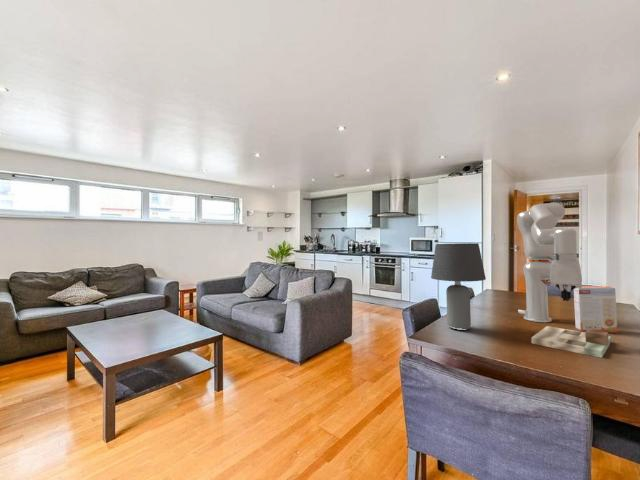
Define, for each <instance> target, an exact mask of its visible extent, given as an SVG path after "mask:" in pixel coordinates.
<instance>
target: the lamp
mask: <svg viewBox="0 0 640 480" xmlns="http://www.w3.org/2000/svg"><path fill="white" fill-rule="evenodd" d="M434 246H435V247H434V253H433V255H434V256H433V262H432V269H431V276H430V277H431V279H432V280H437V281H444V282H454V284H451V285H449V286H447V288H446V291H445V292H446V294H445V295H446V316H447V317H446V323H447V326H448V325H449V326H452V327H455V328H462V329H468V328H469V329H471V325H472V321H471V319H472V318H471V316H472V315H471V295H470V294H471V291H470V288H469V287H468V286H466V285H463V284H462V283H461V282H480V281H486V279H487V278H486V273H485V269H484V263H483V259H482V258H483V257H482V254H481V248H480V244H479V243H478V242H477V243H476V242H475V243H473V242H472V243H471V242H468V243H467V242H465V243H460V242H459V243H436V244H435V245H434ZM449 326H448V327H449ZM469 329H468V330H469Z"/></svg>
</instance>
